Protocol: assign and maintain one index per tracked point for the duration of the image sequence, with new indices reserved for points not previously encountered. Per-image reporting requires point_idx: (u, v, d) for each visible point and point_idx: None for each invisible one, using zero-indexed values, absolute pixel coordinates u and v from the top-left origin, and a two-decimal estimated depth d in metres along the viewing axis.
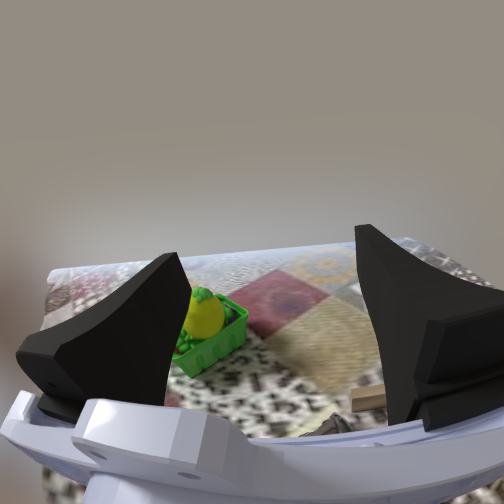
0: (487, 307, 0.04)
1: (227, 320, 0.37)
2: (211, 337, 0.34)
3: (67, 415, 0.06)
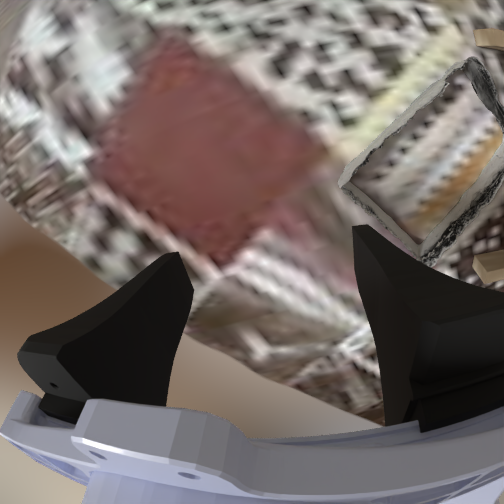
0: (483, 308, 0.04)
1: None
2: None
3: (69, 416, 0.06)
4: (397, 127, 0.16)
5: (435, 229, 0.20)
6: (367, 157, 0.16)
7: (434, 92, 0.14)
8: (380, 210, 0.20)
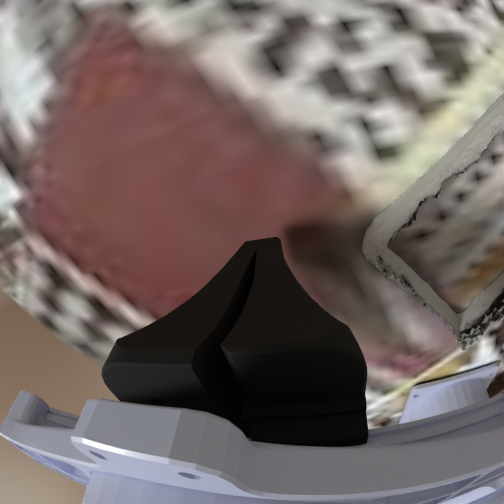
0: (294, 341, 0.05)
1: None
2: None
3: None
4: (461, 162, 0.09)
5: (482, 295, 0.13)
6: (415, 212, 0.10)
7: None
8: (417, 277, 0.13)
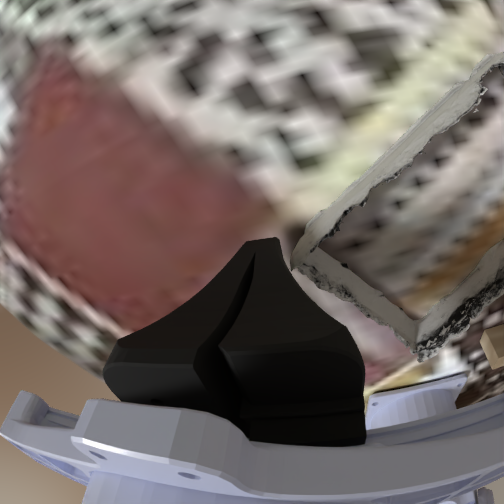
0: (292, 341, 0.05)
1: None
2: None
3: None
4: (395, 166, 0.09)
5: (441, 305, 0.14)
6: (338, 222, 0.10)
7: (461, 103, 0.08)
8: (362, 287, 0.14)
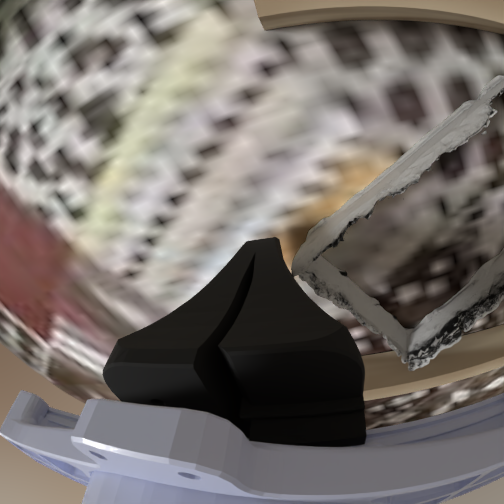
0: (292, 341, 0.05)
1: None
2: None
3: None
4: (401, 181, 0.09)
5: (434, 316, 0.14)
6: (342, 233, 0.10)
7: (470, 123, 0.08)
8: (358, 295, 0.14)
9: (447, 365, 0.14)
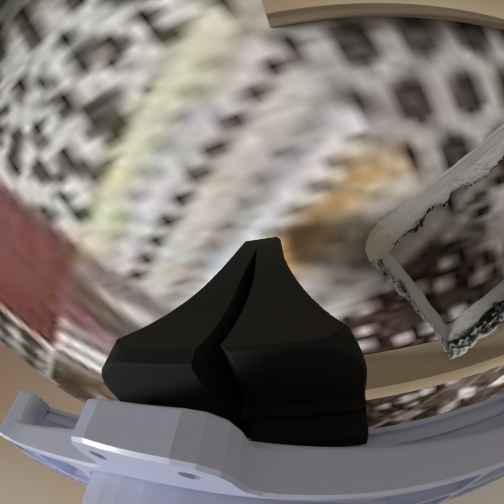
0: (294, 341, 0.05)
1: None
2: None
3: None
4: (470, 175, 0.09)
5: (472, 307, 0.14)
6: (422, 219, 0.10)
7: None
8: (412, 284, 0.13)
9: (455, 362, 0.14)
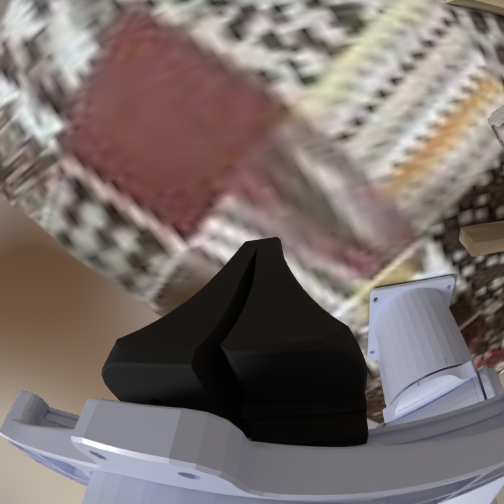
0: (294, 341, 0.05)
1: None
2: None
3: None
4: None
5: None
6: None
7: None
8: None
9: None
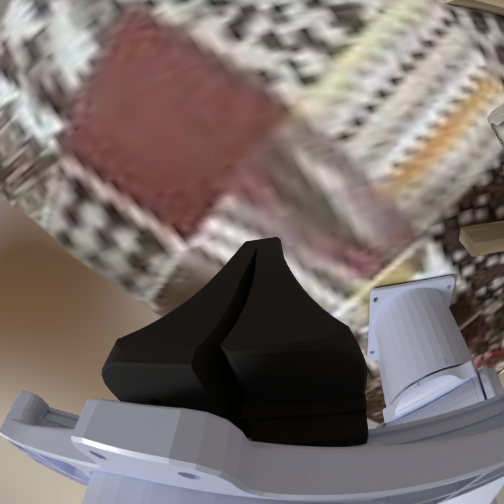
0: (294, 341, 0.05)
1: None
2: None
3: None
4: None
5: None
6: None
7: None
8: None
9: None
